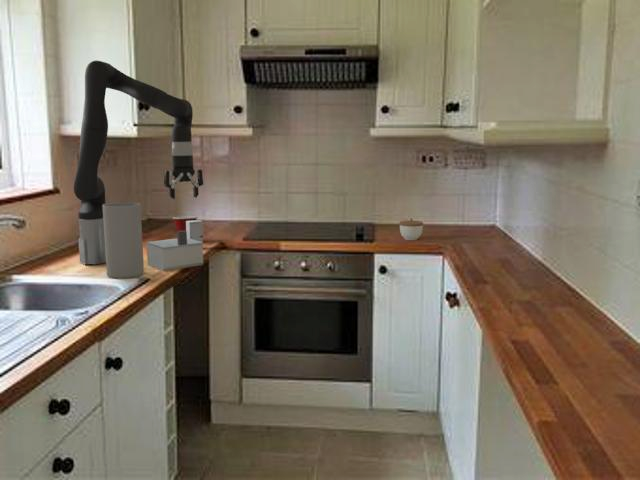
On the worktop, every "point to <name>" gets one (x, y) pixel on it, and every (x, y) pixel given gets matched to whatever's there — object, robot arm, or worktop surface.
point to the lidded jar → (411, 229)
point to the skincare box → (195, 230)
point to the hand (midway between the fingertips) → (184, 197)
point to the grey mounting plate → (175, 241)
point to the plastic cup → (182, 222)
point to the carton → (174, 257)
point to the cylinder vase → (123, 239)
